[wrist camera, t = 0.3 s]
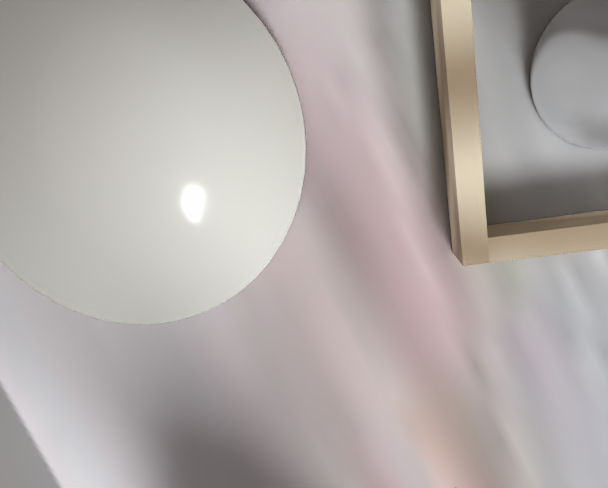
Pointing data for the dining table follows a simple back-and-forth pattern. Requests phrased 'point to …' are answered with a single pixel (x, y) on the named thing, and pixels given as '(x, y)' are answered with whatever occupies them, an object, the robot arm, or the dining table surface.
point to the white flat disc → (144, 153)
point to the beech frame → (469, 170)
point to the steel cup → (574, 74)
